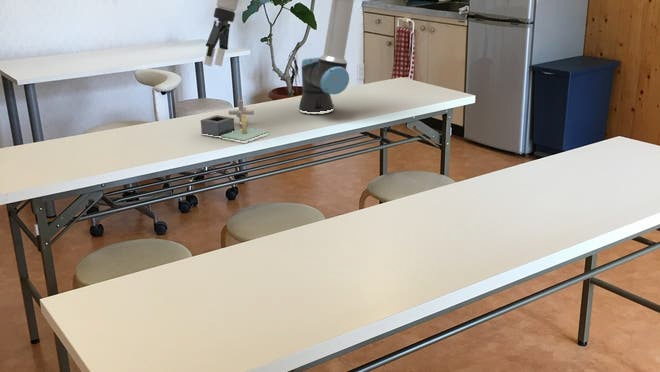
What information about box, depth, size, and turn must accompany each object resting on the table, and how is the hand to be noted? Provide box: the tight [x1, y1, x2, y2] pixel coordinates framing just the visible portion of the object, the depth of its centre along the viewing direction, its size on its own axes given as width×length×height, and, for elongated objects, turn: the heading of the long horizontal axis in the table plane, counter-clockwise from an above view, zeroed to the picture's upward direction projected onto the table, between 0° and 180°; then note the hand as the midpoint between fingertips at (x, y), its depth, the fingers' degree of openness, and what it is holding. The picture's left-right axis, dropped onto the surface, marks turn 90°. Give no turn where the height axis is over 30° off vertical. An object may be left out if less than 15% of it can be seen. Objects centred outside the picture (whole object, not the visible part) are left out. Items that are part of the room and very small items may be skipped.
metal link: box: [200, 115, 236, 136], centre depth 274 cm, size 9×9×6 cm
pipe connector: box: [228, 99, 255, 123], centre depth 287 cm, size 10×10×10 cm
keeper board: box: [221, 114, 269, 141], centre depth 268 cm, size 14×12×9 cm
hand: (212, 65), depth 266 cm, fingers open, 13 cm apart
